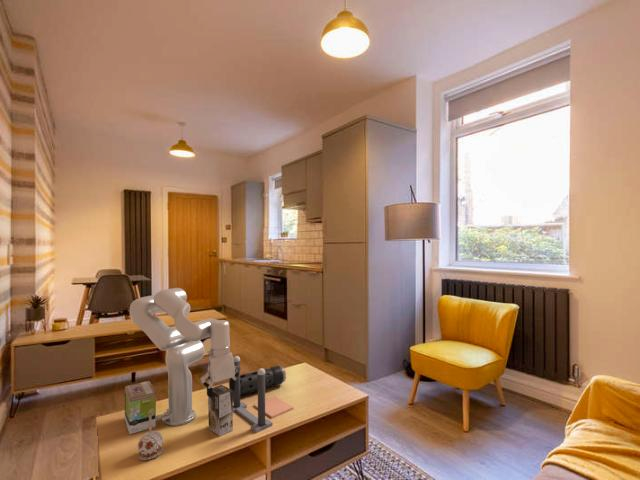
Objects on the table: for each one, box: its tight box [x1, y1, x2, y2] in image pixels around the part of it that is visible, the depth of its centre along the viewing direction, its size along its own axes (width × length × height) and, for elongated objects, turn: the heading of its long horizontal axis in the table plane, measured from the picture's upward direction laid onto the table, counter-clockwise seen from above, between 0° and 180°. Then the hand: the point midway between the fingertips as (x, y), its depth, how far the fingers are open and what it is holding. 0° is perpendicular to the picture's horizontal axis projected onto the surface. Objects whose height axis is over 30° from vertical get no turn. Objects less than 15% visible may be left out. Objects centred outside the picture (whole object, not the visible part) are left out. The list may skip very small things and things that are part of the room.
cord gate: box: [233, 355, 274, 434], centre depth 144 cm, size 8×25×24 cm, turn 42°
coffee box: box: [207, 384, 234, 437], centre depth 136 cm, size 9×6×16 cm
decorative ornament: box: [136, 413, 163, 461], centre depth 119 cm, size 8×8×15 cm
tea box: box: [124, 380, 157, 435], centre depth 141 cm, size 15×10×15 cm, turn 37°
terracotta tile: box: [253, 396, 295, 419], centre depth 153 cm, size 12×15×1 cm
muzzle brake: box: [228, 365, 287, 397], centre depth 171 cm, size 10×28×10 cm, turn 124°
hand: (221, 393), depth 135 cm, fingers open, 9 cm apart
